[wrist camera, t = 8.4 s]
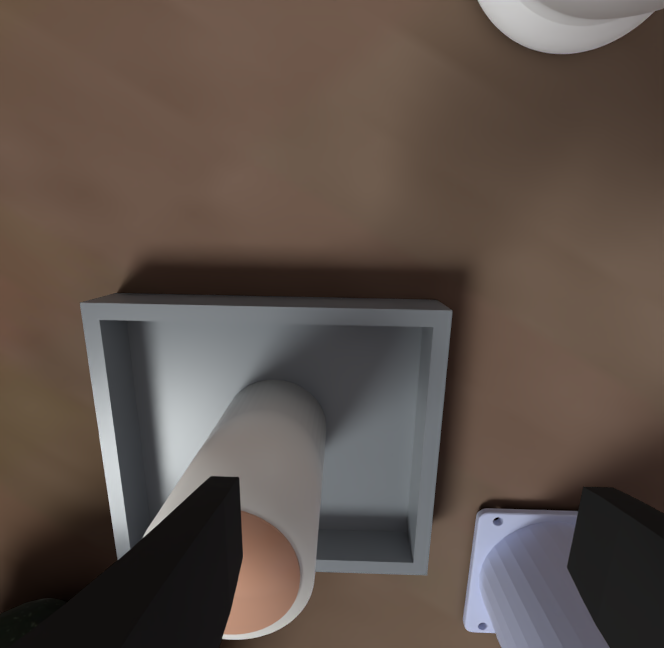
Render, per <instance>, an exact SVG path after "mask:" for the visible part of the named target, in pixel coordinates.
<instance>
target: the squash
mask: <svg viewBox="0 0 664 648" xmlns="http://www.w3.org/2000/svg"><path fill="white" fill-rule="evenodd" d="M64 604H66V602H65V601H63V600H59V599H54V598H46V599H39V600H35V601H31V602H26V603H24V604H22V605H19V606H17V607H15V608H13V609H11V610H8V611H6V612H3V613H1V614H0V648H8V647H9V646H10V645H12V644H13V643H14V642H16V641H17V640H19V639H20V638H21V637H23V636H24V635H25V634H27V633H28V632H29V631H31V630H32V629H33V628H35V627H36V626H37V625H38V624H40V623H41V622H42V621H44V620H45V619H46V618H48V617H49V616H50V615H51V614H53V613H54V612H55V611H57V610H58V609H59V608H60V607H62V606H63V605H64Z"/></svg>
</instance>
